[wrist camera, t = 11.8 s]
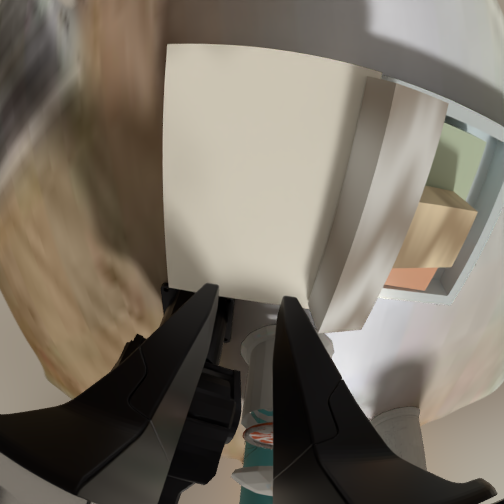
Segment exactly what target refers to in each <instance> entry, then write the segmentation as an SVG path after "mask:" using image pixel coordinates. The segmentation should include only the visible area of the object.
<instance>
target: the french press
mask: <svg viewBox="0 0 504 504" xmlns="http://www.w3.org/2000/svg"><path fill="white" fill-rule="evenodd" d="M314 329H315V328H314ZM315 331H316V332H317V329H315ZM275 333H276V325H269V326H264V327H262V328H260V329H258V330H256V331H254V332H252V333H250V334H249V335H248V336H247V337H246V339H245V340H244V341H243V342H242V344H241V355H242V357H243V358H244V360H245V362H246V363H247V364H248V365H249V367H248V374H247V383H246V390H245V398H244V405H243V413H242V422H241V424H242V425H243V426H244V427H245V428H246V430H245V431H244V432H243V438H244V439H245V440H246V441H247V442H248V443H250V444H251V445H254V446H258V447H262V448H263V447H265V449H266V448H268V449H269V448H270V449H271V450H272V449H273V416H267V415H265V414H262V413H260V412H258V410H259V409H265V410H267V411H273V372H272V364H273V351H274V342H275ZM317 334H318V336H319V338H320V339H321V341H322V343H323V345H324V346H325V348H326V350H327V352H328V353H329V355H330V357H331V358H332V355H333V353H334V348H333V343H332V341H331V340H330V339H329V338H328V337H327V336H326V335H325V334H324V333H318V332H317ZM252 411H253V412H254V413H255V415H256V416H257V417H258V418H260V419H262V420H265V421H267V422H266V423H260V424H259V423H257V422H256V420H255V419H254V418H253V417H252V415H251V414H250V413H249V412H252ZM231 477H232V478H233V479H234V480H235V481H236V482H238V483H239V484H240V485H241V486H243V487H245V488H247V489H249V490H251V491H253V492H255V493H258V494H263V495H268V496H273V466H253V467H243V468H240V469H236V470H235V471H234V472H233V473H232V476H231Z"/></svg>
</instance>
